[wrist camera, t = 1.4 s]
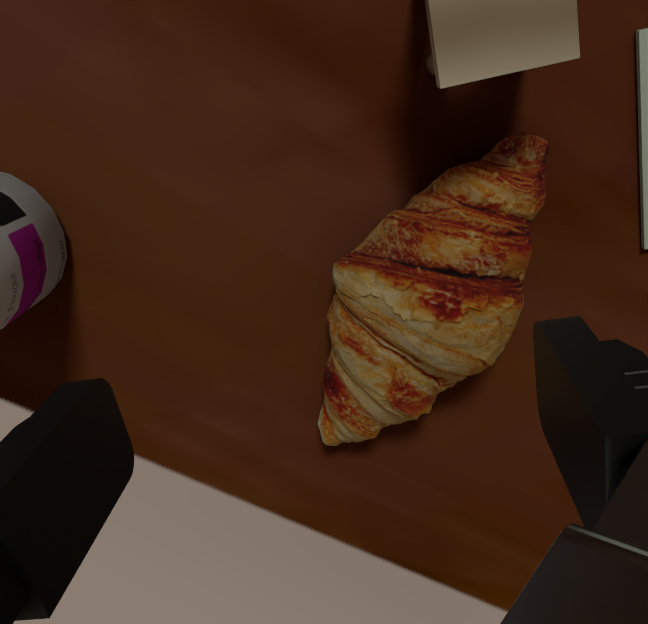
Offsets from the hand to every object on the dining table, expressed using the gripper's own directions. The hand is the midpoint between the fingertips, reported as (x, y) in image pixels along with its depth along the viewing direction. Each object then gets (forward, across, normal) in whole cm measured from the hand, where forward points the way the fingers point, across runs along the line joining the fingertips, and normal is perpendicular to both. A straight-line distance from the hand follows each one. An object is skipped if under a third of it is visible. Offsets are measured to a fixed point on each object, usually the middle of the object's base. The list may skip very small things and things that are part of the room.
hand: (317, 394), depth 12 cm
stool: (+24, -7, -6) cm, 25 cm away
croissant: (+24, -2, +8) cm, 25 cm away
